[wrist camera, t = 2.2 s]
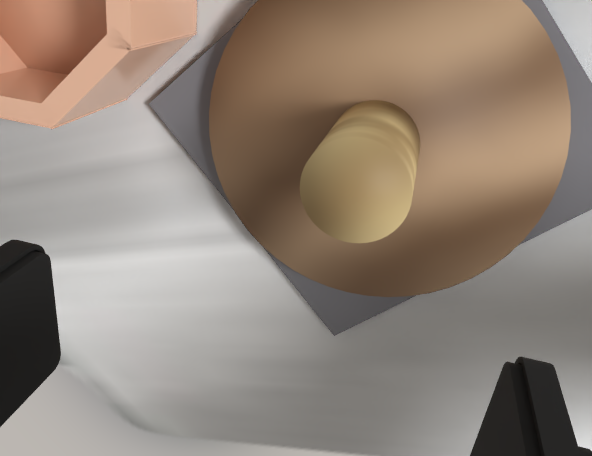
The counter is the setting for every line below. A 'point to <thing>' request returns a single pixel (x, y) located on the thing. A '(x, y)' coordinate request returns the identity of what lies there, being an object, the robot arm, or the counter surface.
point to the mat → (354, 307)
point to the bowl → (83, 53)
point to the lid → (389, 136)
